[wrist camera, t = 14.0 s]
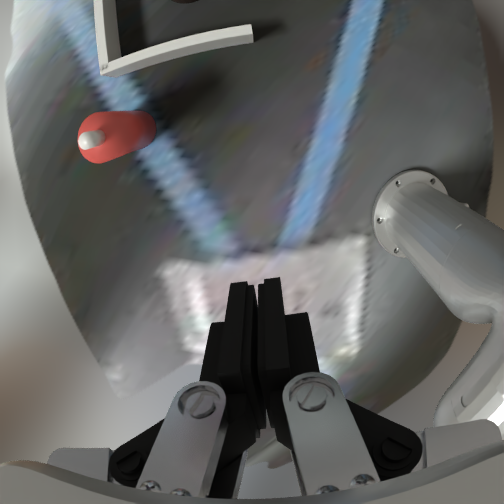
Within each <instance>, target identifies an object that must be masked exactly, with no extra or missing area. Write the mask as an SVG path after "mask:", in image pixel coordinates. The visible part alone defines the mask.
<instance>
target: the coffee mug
mask: <svg viewBox="0 0 504 504" xmlns="http://www.w3.org/2000/svg"><path fill="white" fill-rule="evenodd" d="M172 1H174V2H177V3H192V2H195V1H198V0H172Z"/></svg>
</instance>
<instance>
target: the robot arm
mask: <svg viewBox="0 0 504 504" xmlns="http://www.w3.org/2000/svg"><path fill="white" fill-rule="evenodd" d="M430 180H431V181H430ZM396 181H397V183H396ZM378 218H379V219H378ZM377 219H378V220H377ZM372 225H373V230H374V233H375V236H376V238H377V240H378V242H379V243H380V244H381V246H382V247H383V248H384V249H385V250H386V251H387V252H389V253H390V254H392V255H394V256H397V257H401V258H408V259H409V261H410V262H411V263H412V264H413V265H414V266H415V268H416V269H417V270H418V271H419V272H420V273H421V275H422V276H423V277H424V278H425V280H426V281H427V282H428V283H429V284H430V286H431V287H432V288H433V289H434V291H435V292H436V293H437V294H438V296H439V297H440V298H441V299H442V301H443V302H444V303H445V304H446V306H447V307H448V308H449V310H450V311H451V312H452V313H453V314H454V315H455V316H457V317H458V318H459V319H461V320H463V321H466V322H470V323H476V324H487V323H492V327H491V330H490V332H489V333H488V335H487V337H486V338H485V340H484V341H483V343H482V345H481V347H480V348H479V350H478V351H477V352H476V354H475V355H474V356H473V358H472V359H471V360H470V362H469V363H468V364H467V366H466V367H465V368H464V369H463V371H462V372H461V373H460V374H459V376H458V377H457V378H456V379H455V381H454V382H453V383H452V384H451V386H450V387H449V388H448V389H447V391H446V392H445V393H444V395H443V396H442V398H441V399H440V401H439V403H438V405H437V407H436V410H435V413H434V420H433V421H434V422H433V426H434V427H430V428H425V429H424V431H419V432H413V431H412V430H410V429H408V428H406V427H404V426H402V425H399V424H397V423H395V422H393V421H390V420H388V419H386V418H384V417H382V416H380V415H378V414H375V413H373V412H371V411H369V410H367V409H365V408H363V407H361V406H359V405H357V404H355V403H353V402H351V401H349V400H347V399H345V397H344V395H343V392H342V390H341V388H340V386H339V384H338V383H337V381H336V380H335V379H334V378H332V377H331V376H329V375H327V374H324V373H320V371H319V366H318V361H317V356H316V351H315V346H314V341H313V336H312V331H311V326H310V321H309V316H308V313H307V312H305V313H297V314H290V315H285V313H284V305H283V297H282V289H281V281H280V277H278V278H270V279H264V284H258V305H257V299H256V294H255V288H254V285H248V283H247V281H246V282H237V283H231V284H230V290H229V296H228V303H227V309H226V316H225V322H215V323H212V324H211V326H210V330H209V335H208V340H207V345H206V350H205V355H204V360H203V365H202V370H201V375H200V380H199V381H198V382H194V383H190V384H188V385H186V386H185V387H183V388H182V389H181V390H180V391H178V392H177V394H176V396H175V397H174V399H173V401H172V403H171V406H170V408H169V410H168V413H167V415H166V417H165V419H163V420H161V421H160V422H159V423H157V424H155V425H154V426H152V427H151V428H149V429H147V430H146V431H144V432H143V433H141V434H139V435H138V436H136V437H135V438H133V439H131V440H130V441H128V442H127V443H125V444H123V445H121V446H120V447H119V448H117V449H116V450H114V451H113V450H111V449H110V448H59V449H57V450H55V451H53V453H52V454H51V455H50V456H49V459H48V462H47V464H45V463H41V462H36V461H29V460H18V461H10V462H5V463H2V464H0V504H504V230H503V229H501V228H500V227H498V226H497V225H495V224H494V223H492V222H491V221H489V220H488V219H486V218H485V217H483V216H481V215H480V214H478V213H477V212H475V211H473V210H472V209H470V208H469V205H468V204H467V203H460V202H458V201H457V200H455V199H453V198H451V197H450V196H448V193H447V190H446V188H445V187H444V185H443V184H442V182H441V181H440V180H439V179H438V178H437V177H435V176H434V175H432V174H430V173H428V172H426V171H422V170H407V171H404V172H401V173H399V174H397V175H395V176H394V177H392V178H391V179H390V180H389V181H388V182H387V183H386V184H385V185H384V186H383V187H382V189H381V191H380V192H379V194H378V195H377V198H376V201H375V203H374V207H373V212H372ZM266 409H267V413H268V417H269V422H270V426H271V428H275V432H276V437H277V441H279V442H280V443H282V444H283V445H284V446H286V447H287V448H289V449H290V451H291V455H292V459H293V463H294V467H295V471H296V475H297V479H298V483H299V487H300V490H301V495H302V496H299V497H287V498H272V499H237V498H238V493H239V489H240V485H241V480H242V476H243V472H244V468H245V463H246V459H247V452H248V448H249V447H250V446H252V445H253V444H254V443H255V442H256V438H260V429H266Z"/></svg>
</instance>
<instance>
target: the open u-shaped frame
mask: <svg viewBox="0 0 504 504" xmlns="http://www.w3.org/2000/svg"><path fill="white" fill-rule="evenodd" d="M94 15H95V29H96V40H97V49H98V58H99V66H100V73H101V75H103V76H109V77H114V78H116V77H119V76H122V75H124V74H127V73H130V72H133V71H136V70H139V69H142V68H145V67H148V66H151V65H154V64H157V63H161V62H164V61H168V60H171V59H175V58H179V57H182V56H186V55H190V54H195V53H199V52H203V51H208V50H213V49H218V48H223V47H228V46H234V45H240V44H247V43H254V42H253V32H252V27H251V24H249V25H242V26H236V27H230V28H224V29H219V30H214V31H209V32H205V33H200V34H196V35H192V36H188V37H184V38H180V39H176V40H172V41H169V42H165V43H162V44H159V45H156V46H152V47H149V48H146V49H143V50H140V51H137V52H135V53H132V54H129V55H126V56H124V57H121V50H120V42H119V34H118V24H117V14H116V2H115V0H94Z"/></svg>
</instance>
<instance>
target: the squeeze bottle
mask: <svg viewBox="0 0 504 504" xmlns="http://www.w3.org/2000/svg"><path fill="white" fill-rule="evenodd" d="M155 134H156V124H155V121H154V119H153V117H152V116H151V115H150V114H149V113H147V112H145V111H111V112H97V113H94V114H92V115H90V116H88V117H87V118H86V119H85V120H84V122H83V123H82V125H81V127H80V129H79V132H78V146H79V149H80V151H81V153H82V155H83V156H84V157H85V158H86V159H87V160H89V161H90V162H93V163H104V162H106V161H109V160H112V159H114V158H117V157H120V156H122V155H125V154H128V153H131V152H133V151H136V150H139V149H142V148H145V147H146V146H148V145H149V144H150V143H151V142H152V141H153V139H154V137H155Z"/></svg>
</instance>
